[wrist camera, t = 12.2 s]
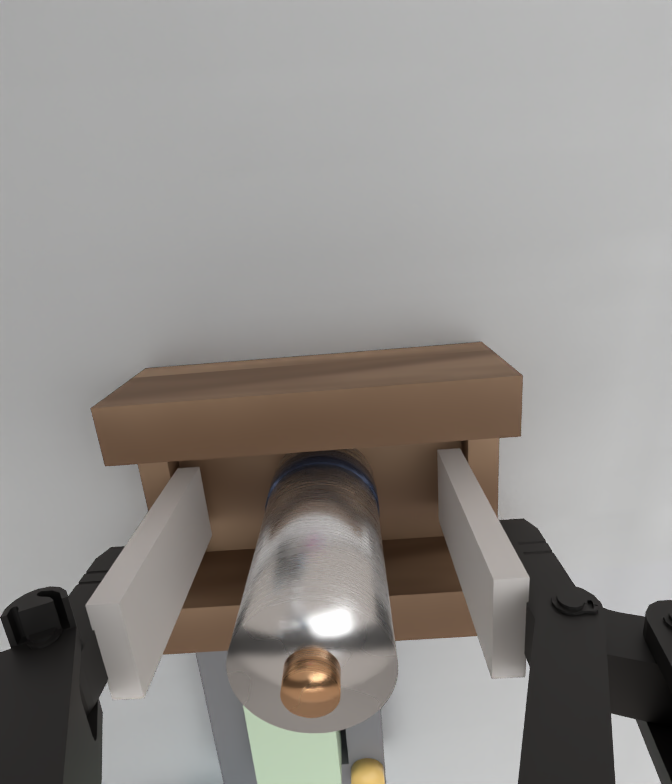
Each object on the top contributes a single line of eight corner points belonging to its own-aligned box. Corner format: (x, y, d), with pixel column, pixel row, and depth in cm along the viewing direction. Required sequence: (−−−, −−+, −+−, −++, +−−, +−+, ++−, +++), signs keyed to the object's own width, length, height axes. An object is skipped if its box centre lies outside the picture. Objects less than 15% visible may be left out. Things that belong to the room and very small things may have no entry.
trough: (145, 368, 18) (90, 408, 14) (481, 341, 18) (522, 375, 14) (187, 573, 21) (152, 655, 17) (480, 554, 20) (514, 633, 16)
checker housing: (204, 594, 21) (186, 642, 19) (370, 583, 21) (375, 631, 18) (235, 749, 24) (223, 810, 22) (382, 742, 24) (387, 802, 21)
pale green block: (247, 648, 21) (239, 686, 19) (330, 643, 20) (330, 681, 19) (264, 744, 22) (258, 787, 21) (341, 740, 22) (341, 784, 20)
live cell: (279, 532, 19) (233, 767, 11) (266, 441, 18) (202, 626, 10) (378, 524, 19) (408, 757, 11) (371, 432, 18) (398, 613, 9)
